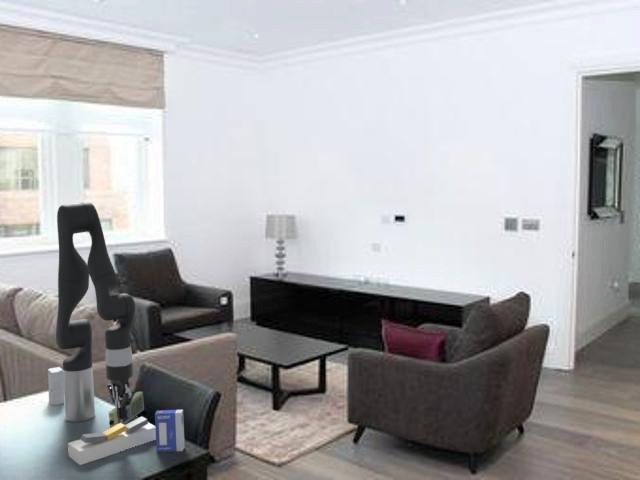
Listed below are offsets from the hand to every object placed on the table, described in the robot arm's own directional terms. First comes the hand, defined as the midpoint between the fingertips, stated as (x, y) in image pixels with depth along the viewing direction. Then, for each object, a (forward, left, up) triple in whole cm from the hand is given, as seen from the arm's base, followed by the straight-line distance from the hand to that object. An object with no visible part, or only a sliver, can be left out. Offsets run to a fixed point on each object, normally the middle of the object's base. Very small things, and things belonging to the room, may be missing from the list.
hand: (121, 418), depth 187 cm
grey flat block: (0, -9, -5) cm, 10 cm away
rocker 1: (0, -2, -5) cm, 5 cm away
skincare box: (-53, +1, -9) cm, 53 cm away
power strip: (-2, -2, -9) cm, 9 cm away
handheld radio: (-17, +9, -9) cm, 21 cm away
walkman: (+12, +9, -9) cm, 17 cm away
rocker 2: (0, +5, -5) cm, 7 cm away
